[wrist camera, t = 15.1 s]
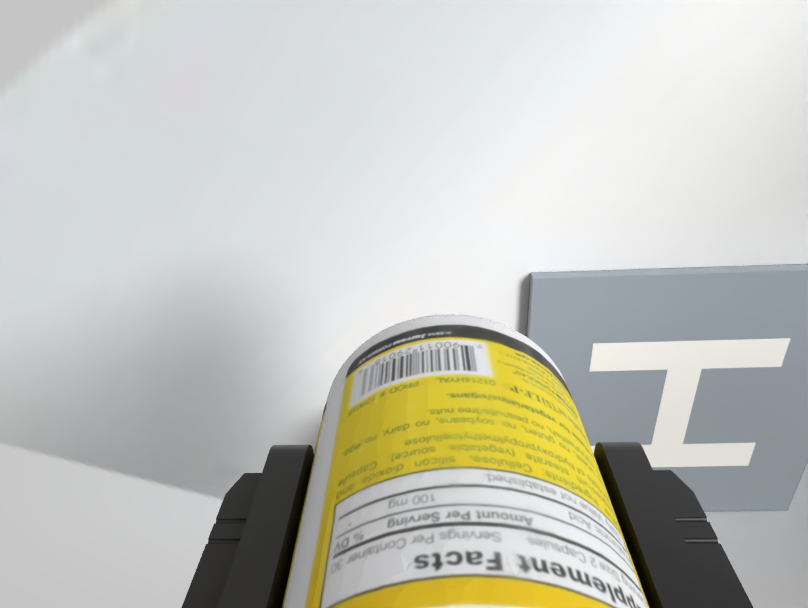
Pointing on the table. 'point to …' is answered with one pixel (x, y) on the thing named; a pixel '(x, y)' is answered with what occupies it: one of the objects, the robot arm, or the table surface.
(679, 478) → the robot arm
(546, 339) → the letter board
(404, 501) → the supplement bottle
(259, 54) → the table surface
